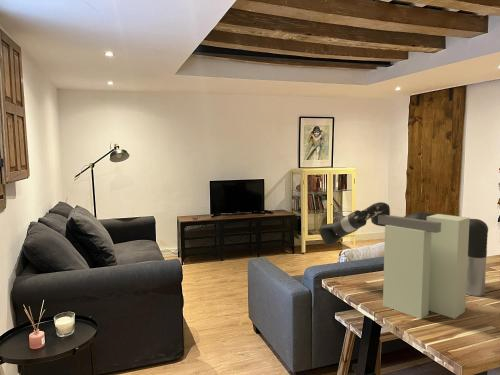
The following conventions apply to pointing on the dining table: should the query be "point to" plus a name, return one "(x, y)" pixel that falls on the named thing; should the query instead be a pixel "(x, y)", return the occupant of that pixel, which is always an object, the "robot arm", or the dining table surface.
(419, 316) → the block
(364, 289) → the dining table surface
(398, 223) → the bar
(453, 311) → the stand
